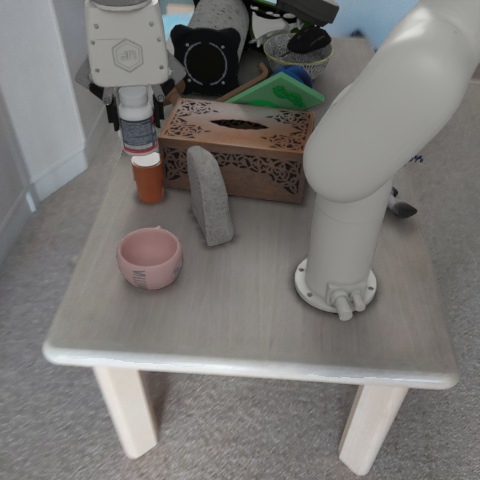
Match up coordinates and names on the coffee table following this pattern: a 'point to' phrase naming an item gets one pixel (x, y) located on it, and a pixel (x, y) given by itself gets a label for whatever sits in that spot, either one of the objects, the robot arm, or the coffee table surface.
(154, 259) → the mug
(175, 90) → the toilet paper hanger
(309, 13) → the motorcycle dashboard
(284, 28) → the figurine
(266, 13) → the toy tank
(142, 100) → the pill bottle
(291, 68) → the bomb
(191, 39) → the speaker
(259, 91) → the toy
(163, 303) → the coffee table surface
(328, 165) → the robot arm
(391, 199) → the fish
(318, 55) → the bowl
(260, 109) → the tissue box cover
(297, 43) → the gaming mouse
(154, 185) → the orange cylinder
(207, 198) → the decorative stone
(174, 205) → the coffee table surface
